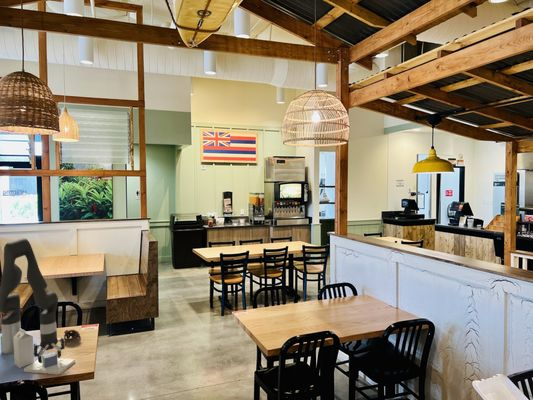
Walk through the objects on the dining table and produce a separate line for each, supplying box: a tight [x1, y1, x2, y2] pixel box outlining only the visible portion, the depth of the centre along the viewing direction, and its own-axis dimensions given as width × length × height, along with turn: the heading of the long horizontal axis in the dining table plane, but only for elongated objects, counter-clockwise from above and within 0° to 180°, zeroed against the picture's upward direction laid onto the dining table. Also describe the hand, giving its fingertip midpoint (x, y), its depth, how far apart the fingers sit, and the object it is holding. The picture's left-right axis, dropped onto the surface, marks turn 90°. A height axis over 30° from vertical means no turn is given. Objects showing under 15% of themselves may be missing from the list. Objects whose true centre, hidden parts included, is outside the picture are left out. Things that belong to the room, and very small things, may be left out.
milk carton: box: [13, 328, 35, 369], centre depth 206 cm, size 7×7×19 cm
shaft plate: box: [23, 357, 76, 375], centre depth 203 cm, size 20×13×5 cm, turn 81°
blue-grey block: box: [41, 350, 58, 368], centre depth 203 cm, size 6×6×5 cm
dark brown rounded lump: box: [63, 329, 81, 345], centre depth 234 cm, size 12×10×8 cm
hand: (49, 360), depth 203 cm, fingers open, 8 cm apart
